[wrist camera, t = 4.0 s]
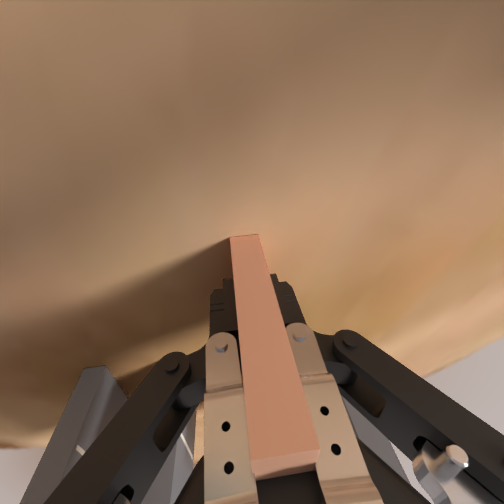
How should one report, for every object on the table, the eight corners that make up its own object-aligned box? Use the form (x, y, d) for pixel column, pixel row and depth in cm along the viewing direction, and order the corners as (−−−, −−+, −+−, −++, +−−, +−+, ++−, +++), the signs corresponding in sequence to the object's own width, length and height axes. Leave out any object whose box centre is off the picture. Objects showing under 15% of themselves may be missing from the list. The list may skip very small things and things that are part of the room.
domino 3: (258, 234, 14) (320, 448, 6) (261, 298, 17) (306, 506, 8) (229, 237, 14) (249, 460, 5) (237, 301, 17) (259, 515, 8)
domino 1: (106, 365, 19) (17, 588, 10) (127, 399, 21) (71, 595, 13) (83, 368, 18) (-25, 595, 10) (108, 401, 21) (39, 602, 13)
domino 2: (186, 354, 19) (164, 560, 11) (197, 388, 22) (186, 572, 13) (165, 357, 19) (125, 567, 11) (179, 391, 22) (156, 578, 13)
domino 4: (337, 334, 20) (423, 510, 12) (329, 369, 23) (394, 531, 14) (317, 337, 20) (390, 516, 11) (312, 372, 23) (367, 537, 14)
